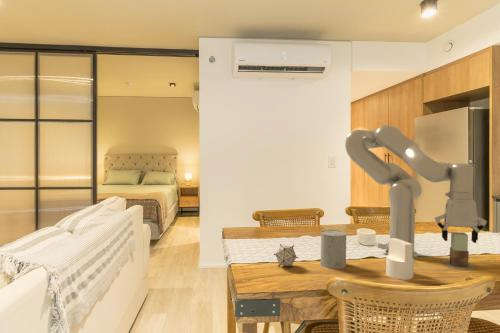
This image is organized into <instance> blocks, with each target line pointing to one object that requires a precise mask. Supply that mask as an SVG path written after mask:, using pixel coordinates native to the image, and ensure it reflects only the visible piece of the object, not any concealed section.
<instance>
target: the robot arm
mask: <svg viewBox="0 0 500 333" xmlns="http://www.w3.org/2000/svg"><path fill="white" fill-rule="evenodd" d="M344 142H345V151H346V153H347V155H348V158H350V160H351V161H352V162H354V163H355V164H356V166H358V167H359V168H361V169H362V170H363V172H365V173H366V174H367V175H368V176H369V177H370V178H372V180H374V181H375V182H376V183H377V184H379V185H380V186H381V185H383V186H385V185H388V186H389V187H390V188H389V190H388V199H389V207H390V208H389V212H390V213H389V214H390V215H389V239H390V238H397V239H400V240H403V241H405V242H408V243H411V244H413V251H412V258H413V259H414V260H415V259H418V257H419V253H418V252H416V251H415V237H416V236H415V235H416V234H415V231H416V230H415V229H416V227H415V226H416V208H415V207H416V206H415V200H417V199H418V198H420V197H421V195H422V191H423V190H422V188H423V187H422V186H421V183H419V181H418V180H417V178H415V177H413V176H412V175H411V174H410V173H408V172H407V171H406V170H405V169H403V168H402V167H401V166H400V165H398V164H396V163H393V162H386V161H384V160H383V159H381V158H380V157H379V156H378V155H377V154H376V153H374V152H373V151H372V150H370V149H376V148H377V149H378V148H385V149H387V150H388V151H390V152H391V153H393V154H394V155H396V157H398V158H400V159H401V160H402V161H403V163H404V164H406V165H407V166H408V167H409V168H410V169H412V170H413V171H414V172H415V173H417V174H419V176H421V177H423V178H424V179H425V180H427V181H429V182H432V183H441V182H447V181H448V182H449V190H448V192H445V193H444V194H445V195H444V196H445V197H448V198H447V199H446V204H445V208H444V209H445V211H444V213H443V214H441V215H438V216H435V217H434V221H435V222H436V224H437V226H438V227H439V228H440V229H441V238H442V240H444V241H445V242H448V236H449V234H448V233H449V232H448V230H447V229H449V228H450V227H455V228H471V229H472V230H471V237H470V238H471V239H470V240H471V242H473V243H474V244H477V241H478V240H479V233H480V231H482V230H483V229H484V227H485V226H486V224H487V222H488V221H487V220H485V219H484V218H481V217H480V216H478V213H477V212H478V210H477V204H476V200H474V198H473V194H474V193H473V192H474V166H473V164H471V163H463V162H462V163H458V162H456V163H450V162H443V161H442V162H441V161H438V162H437V161H435V160H434V159H433V158H431V157H430V156H428V155H427V154H426V153H424V152H423V151H422V150H421V149H420V147H419V146H418V143H417V142H415V141H414V140H413V139H411V138H409V137H408V136H406V135H405V134H403V133H402V131H401V130H400V128H398V127H397V126H394V125H389V124H385V125H381V126H379V127H378V128H376V129H370V130H369V129H368V130H366V129H354V130H352V131H350V132H349V133H348V134H347V136H346V139H345V141H344ZM441 220H444V223H443V224H442V223H441ZM478 221H479V222H480V223H479V224H478ZM377 249H381V250H385V252H384V253H385V254H386V256H388V255H389V241H388V242H387V243H384V244H383V243H377Z"/></svg>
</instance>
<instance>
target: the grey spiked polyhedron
mask: <svg viewBox="0 0 500 333" xmlns="http://www.w3.org/2000/svg"><path fill="white" fill-rule="evenodd" d="M294 247H295V245H294V244H293V245H292V246H286V245H282V243H280V247H279V249H278V250H277V252H276V253H273V255H274V256H275V257H276V260H277V262H278V265H277V267H278V268H279V267H280V266H283V267H284V266H285V267H290V269H293V264H294V262H295V261H296V259H298V258H299V257H298V256H297V254H296V252H295V250H294Z"/></svg>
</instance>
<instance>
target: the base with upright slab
mask: <svg viewBox="0 0 500 333" xmlns="http://www.w3.org/2000/svg"><path fill="white" fill-rule="evenodd" d="M388 242H389V255H386V258H385V259H386V262H385V263H386V264H385V269H386V270H385V275H386V276H388V277H389V278H391V279H396V280H402V281H403V280H404V281H405V280H406V281H407V280H413V278H414V277H415V258H414V259H413V258H412V251H413V244H411V243H408V242H405V241H403V240H400V239H397V238H390V237H389V238H388Z"/></svg>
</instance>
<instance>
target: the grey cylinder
mask: <svg viewBox="0 0 500 333" xmlns="http://www.w3.org/2000/svg"><path fill="white" fill-rule="evenodd" d="M347 234H348V233H347V232H345V231H343V230H335V229H327V230H326V229H325V230H322V231H320V266H322V267H323V268H326V269H332V270H340V269H344V268H346V267H347Z"/></svg>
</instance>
